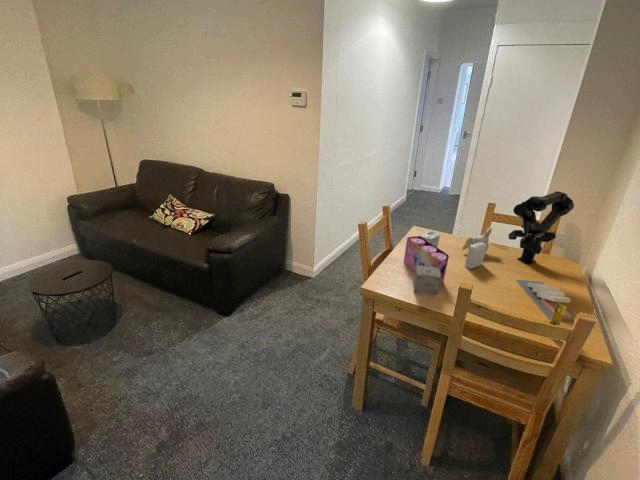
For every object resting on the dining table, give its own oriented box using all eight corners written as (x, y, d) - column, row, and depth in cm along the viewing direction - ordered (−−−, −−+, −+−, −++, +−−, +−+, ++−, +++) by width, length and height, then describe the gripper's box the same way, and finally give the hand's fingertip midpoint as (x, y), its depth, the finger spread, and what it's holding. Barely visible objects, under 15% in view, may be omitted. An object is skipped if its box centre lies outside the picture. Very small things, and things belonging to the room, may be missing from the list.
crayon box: (554, 337, 121) (565, 311, 116) (545, 333, 123) (555, 307, 118) (558, 328, 126) (568, 302, 121) (548, 324, 128) (559, 299, 123)
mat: (515, 280, 157) (515, 279, 157) (541, 282, 157) (541, 281, 157) (548, 320, 130) (549, 319, 130) (581, 323, 129) (581, 322, 129)
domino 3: (536, 292, 145) (554, 297, 133) (551, 293, 144) (570, 298, 132) (536, 296, 145) (554, 301, 133) (551, 297, 144) (570, 302, 132)
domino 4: (541, 297, 141) (557, 315, 130) (556, 299, 141) (573, 316, 130) (540, 300, 142) (555, 318, 131) (555, 302, 141) (571, 320, 130)
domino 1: (527, 282, 152) (543, 286, 140) (541, 284, 152) (558, 287, 140) (527, 286, 152) (543, 290, 140) (541, 287, 152) (558, 291, 140)
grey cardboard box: (413, 294, 143) (417, 272, 139) (412, 283, 151) (415, 263, 147) (437, 297, 142) (442, 275, 138) (435, 286, 149) (439, 266, 145)
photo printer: (475, 261, 173) (481, 239, 168) (483, 265, 170) (489, 242, 165) (463, 266, 168) (468, 243, 163) (470, 270, 165) (476, 247, 160)
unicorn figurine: (493, 251, 186) (500, 228, 180) (471, 258, 176) (477, 235, 171) (482, 246, 192) (488, 224, 186) (460, 253, 182) (465, 230, 176)
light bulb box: (425, 248, 186) (429, 230, 182) (437, 252, 182) (440, 233, 177) (415, 253, 179) (418, 235, 175) (426, 258, 175) (430, 239, 170)
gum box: (446, 284, 152) (452, 257, 146) (431, 286, 150) (436, 259, 144) (416, 259, 173) (420, 235, 167) (402, 261, 170) (406, 237, 165)
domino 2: (532, 287, 148) (549, 291, 136) (546, 288, 148) (564, 293, 136) (532, 291, 148) (548, 295, 136) (546, 292, 148) (564, 297, 136)
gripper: (518, 213, 153) (523, 245, 147) (560, 216, 152) (566, 248, 146) (506, 223, 163) (510, 253, 158) (545, 226, 162) (550, 256, 157)
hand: (534, 253), depth 154 cm, fingers closed
